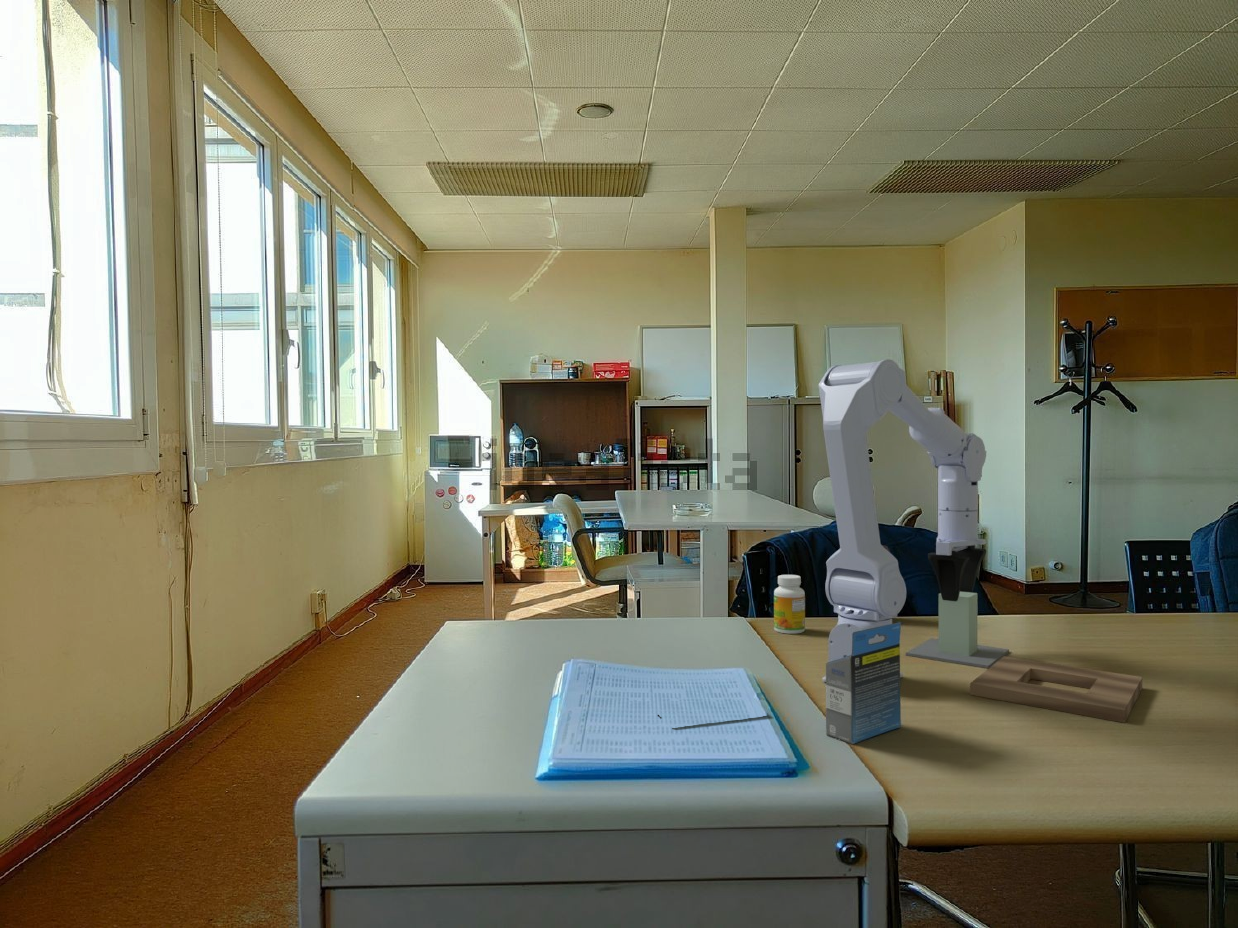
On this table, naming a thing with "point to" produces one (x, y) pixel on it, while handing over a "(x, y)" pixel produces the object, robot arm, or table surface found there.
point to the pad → (980, 658)
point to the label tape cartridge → (865, 687)
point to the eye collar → (1103, 700)
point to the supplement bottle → (789, 605)
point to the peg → (958, 624)
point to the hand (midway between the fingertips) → (957, 596)
